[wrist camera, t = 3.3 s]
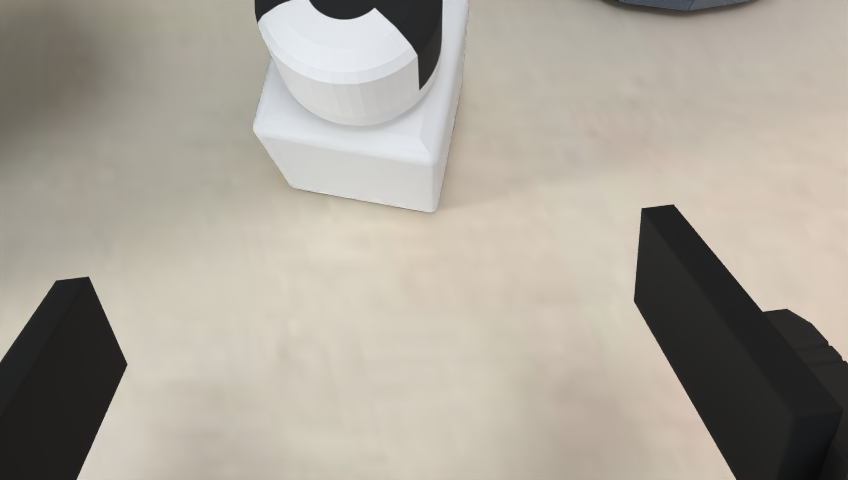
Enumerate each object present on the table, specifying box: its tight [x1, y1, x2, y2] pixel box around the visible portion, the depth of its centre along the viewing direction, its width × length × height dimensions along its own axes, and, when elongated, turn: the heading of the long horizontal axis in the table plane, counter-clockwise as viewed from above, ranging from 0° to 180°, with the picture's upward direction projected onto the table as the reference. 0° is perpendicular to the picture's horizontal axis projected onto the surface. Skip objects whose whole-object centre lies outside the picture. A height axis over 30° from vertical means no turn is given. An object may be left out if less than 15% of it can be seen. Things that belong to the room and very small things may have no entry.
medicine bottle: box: [253, 0, 469, 212], centre depth 27 cm, size 7×7×12 cm
